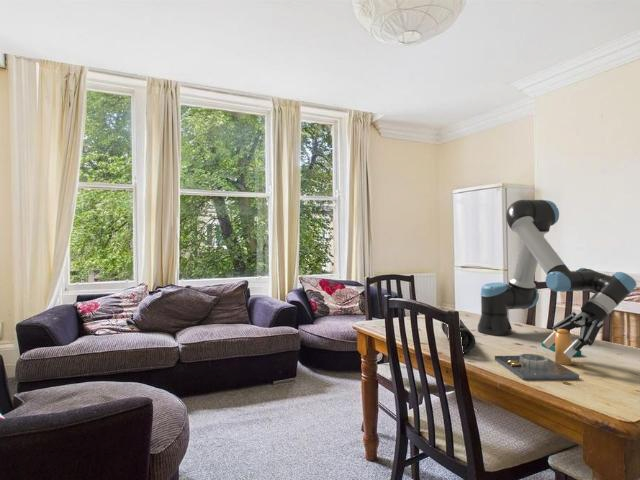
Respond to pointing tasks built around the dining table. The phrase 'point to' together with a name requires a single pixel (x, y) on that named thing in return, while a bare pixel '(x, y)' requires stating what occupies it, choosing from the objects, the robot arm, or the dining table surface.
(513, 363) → the plate
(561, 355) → the orange cylinder
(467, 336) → the muzzle brake
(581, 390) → the dining table surface
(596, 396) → the dining table surface
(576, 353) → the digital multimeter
